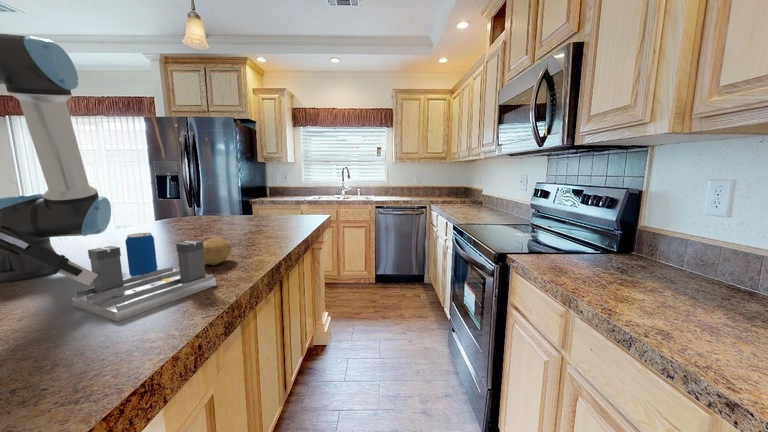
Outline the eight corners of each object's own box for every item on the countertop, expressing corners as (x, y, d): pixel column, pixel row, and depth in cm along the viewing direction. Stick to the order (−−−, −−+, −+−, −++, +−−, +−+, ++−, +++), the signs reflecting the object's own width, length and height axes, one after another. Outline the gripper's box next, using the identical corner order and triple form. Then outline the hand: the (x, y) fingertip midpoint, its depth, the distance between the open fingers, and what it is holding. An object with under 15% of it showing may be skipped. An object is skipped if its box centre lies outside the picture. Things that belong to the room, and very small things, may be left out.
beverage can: (163, 271, 93) (159, 232, 91) (144, 278, 87) (139, 237, 85) (143, 270, 94) (139, 232, 92) (123, 278, 87) (118, 236, 86)
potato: (191, 271, 93) (188, 246, 92) (204, 259, 106) (202, 236, 105) (226, 269, 96) (224, 243, 94) (234, 257, 109) (233, 235, 108)
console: (73, 305, 69) (71, 292, 69) (173, 275, 89) (172, 265, 89) (116, 321, 62) (115, 307, 62) (216, 285, 82) (215, 274, 81)
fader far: (179, 282, 78) (176, 243, 76) (196, 276, 82) (193, 239, 80) (189, 284, 76) (186, 244, 75) (206, 278, 80) (203, 241, 79)
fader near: (93, 291, 72) (87, 249, 70) (116, 285, 76) (111, 245, 74) (102, 294, 70) (96, 251, 69) (125, 287, 74) (119, 247, 73)
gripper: (-83, 230, 53) (63, 290, 70) (-60, 237, 47) (92, 300, 64) (-37, 197, 57) (90, 261, 74) (-11, 199, 51) (120, 268, 68)
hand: (91, 279), depth 69 cm, fingers closed
